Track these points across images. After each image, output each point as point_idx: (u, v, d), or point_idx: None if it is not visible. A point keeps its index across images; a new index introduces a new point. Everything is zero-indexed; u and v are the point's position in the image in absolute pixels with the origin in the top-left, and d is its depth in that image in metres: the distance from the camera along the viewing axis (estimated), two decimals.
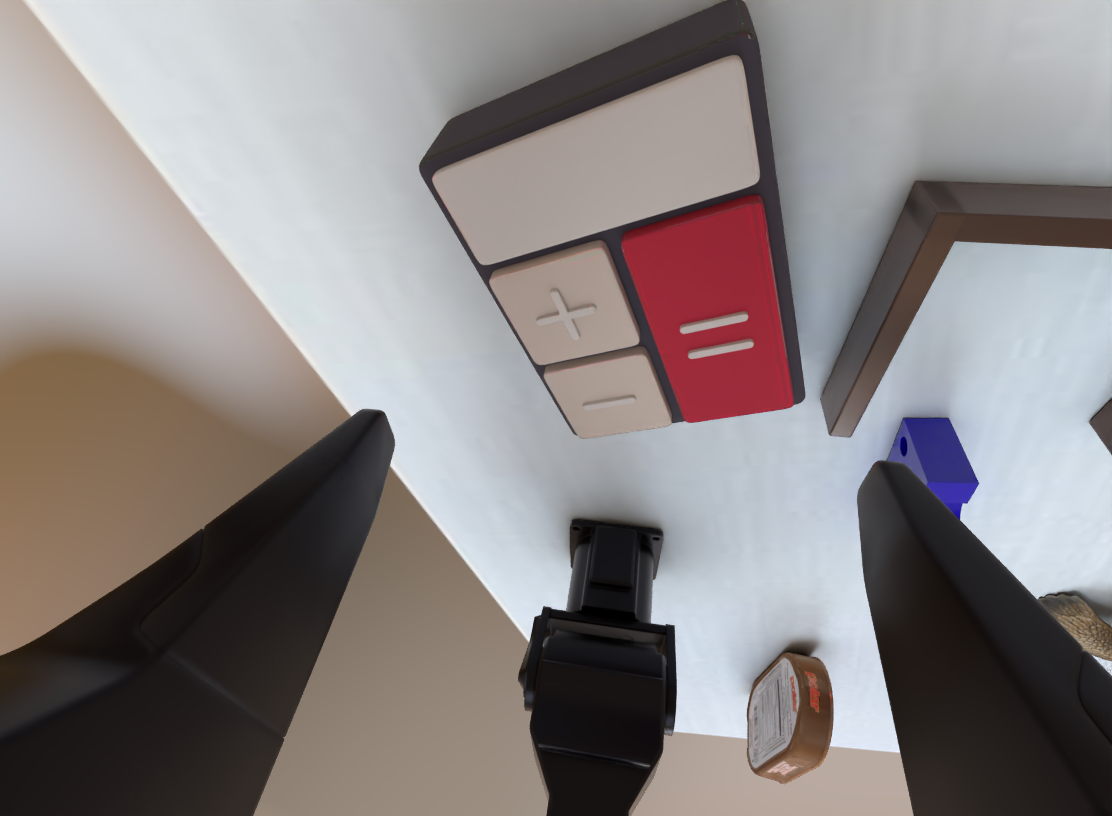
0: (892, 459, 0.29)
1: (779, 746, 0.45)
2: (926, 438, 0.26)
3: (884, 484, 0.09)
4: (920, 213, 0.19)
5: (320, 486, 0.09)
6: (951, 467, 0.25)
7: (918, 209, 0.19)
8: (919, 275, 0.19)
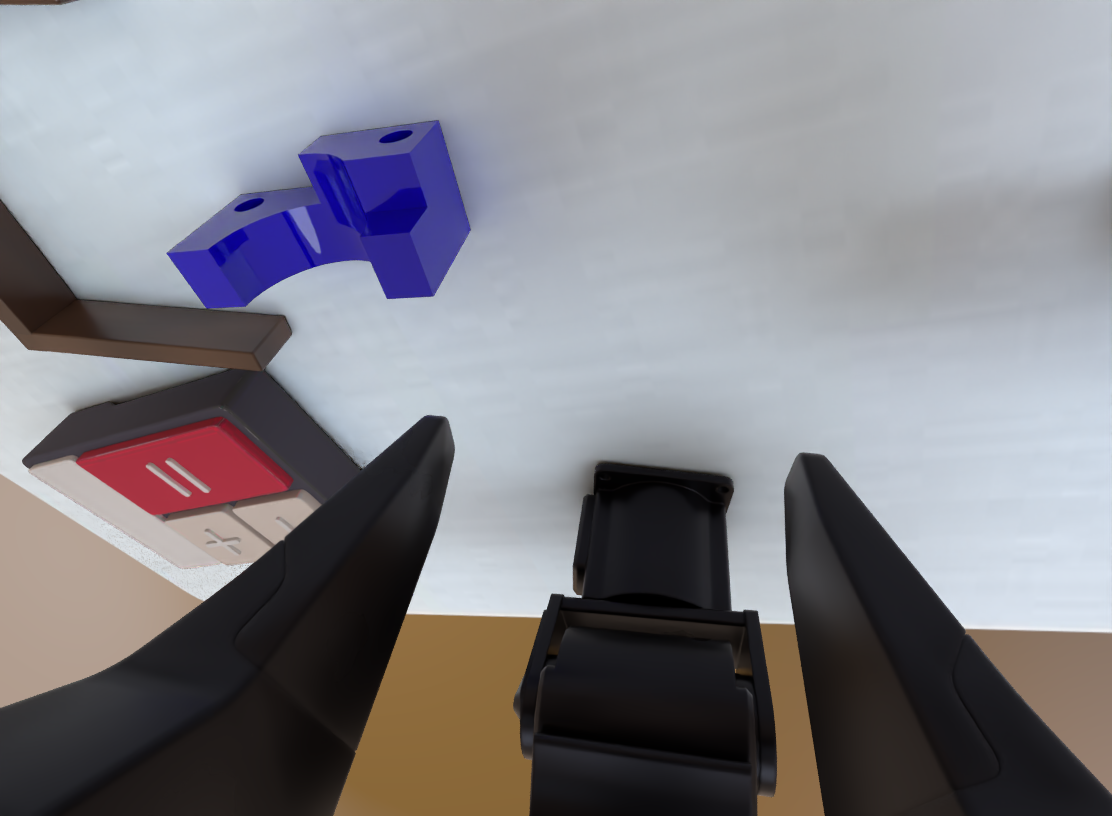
0: None
1: None
2: None
3: (803, 476, 0.09)
4: None
5: (395, 495, 0.09)
6: None
7: None
8: (68, 346, 0.23)
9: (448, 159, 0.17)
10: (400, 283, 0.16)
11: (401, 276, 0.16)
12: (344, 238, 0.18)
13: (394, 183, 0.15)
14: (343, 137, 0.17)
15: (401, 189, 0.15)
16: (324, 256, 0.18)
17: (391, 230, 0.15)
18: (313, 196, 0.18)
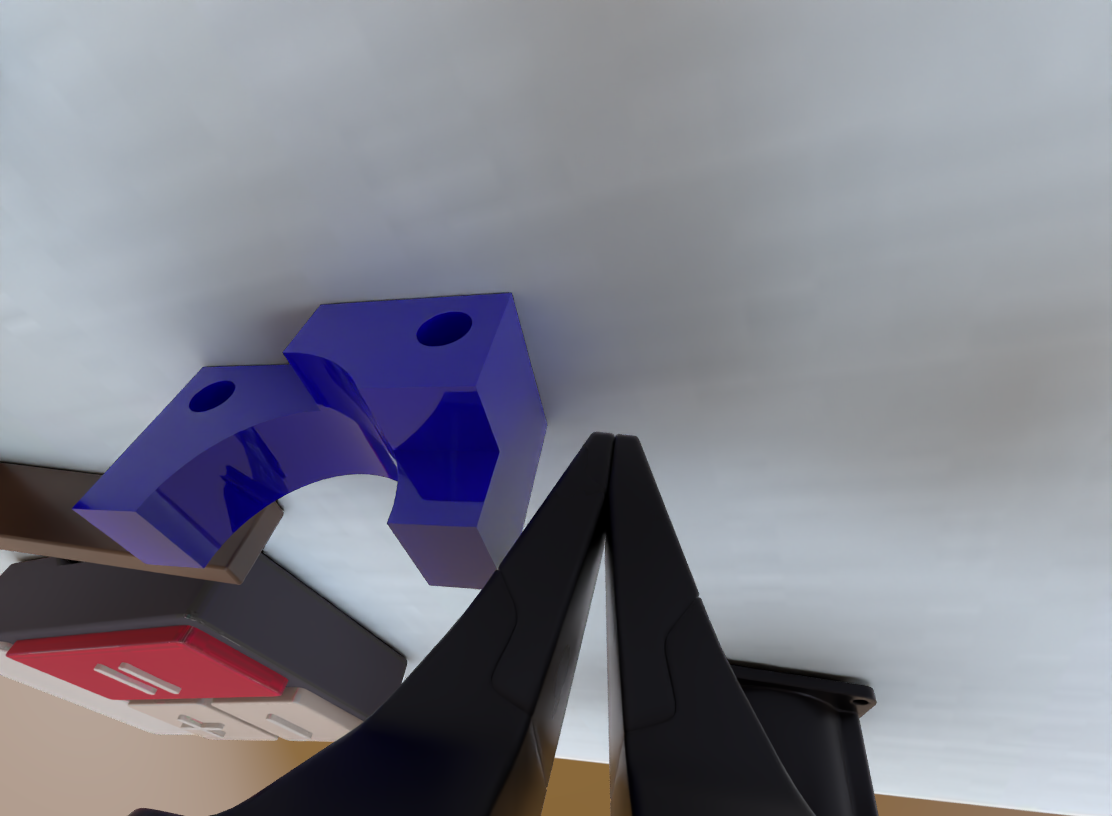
0: None
1: None
2: None
3: (613, 455, 0.10)
4: None
5: (596, 520, 0.08)
6: None
7: None
8: None
9: (523, 344, 0.11)
10: (453, 573, 0.09)
11: (456, 567, 0.09)
12: (357, 451, 0.12)
13: (445, 420, 0.09)
14: (356, 315, 0.10)
15: (456, 428, 0.09)
16: (327, 469, 0.12)
17: (442, 513, 0.09)
18: None
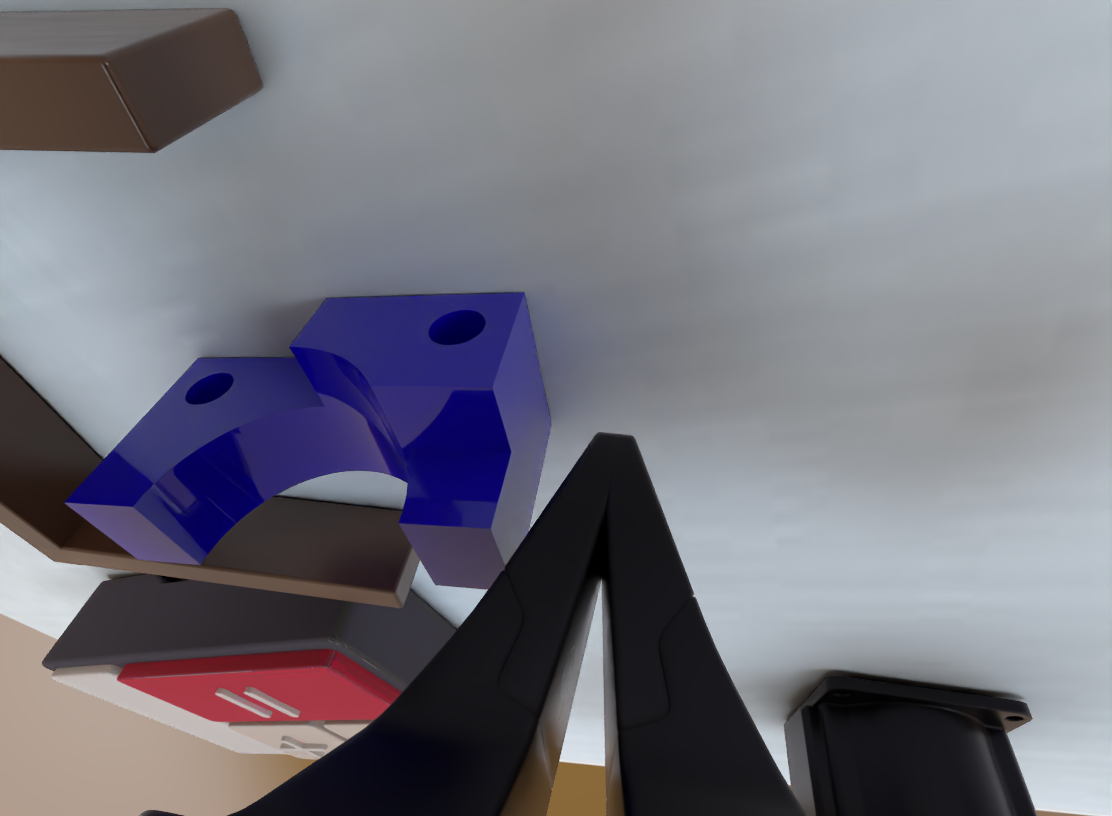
0: None
1: None
2: None
3: None
4: None
5: (602, 521, 0.08)
6: None
7: None
8: (114, 564, 0.16)
9: (533, 344, 0.11)
10: (461, 573, 0.09)
11: (465, 568, 0.09)
12: (360, 448, 0.12)
13: (458, 420, 0.09)
14: (364, 310, 0.10)
15: (469, 428, 0.09)
16: (327, 465, 0.12)
17: (455, 514, 0.08)
18: (312, 384, 0.11)
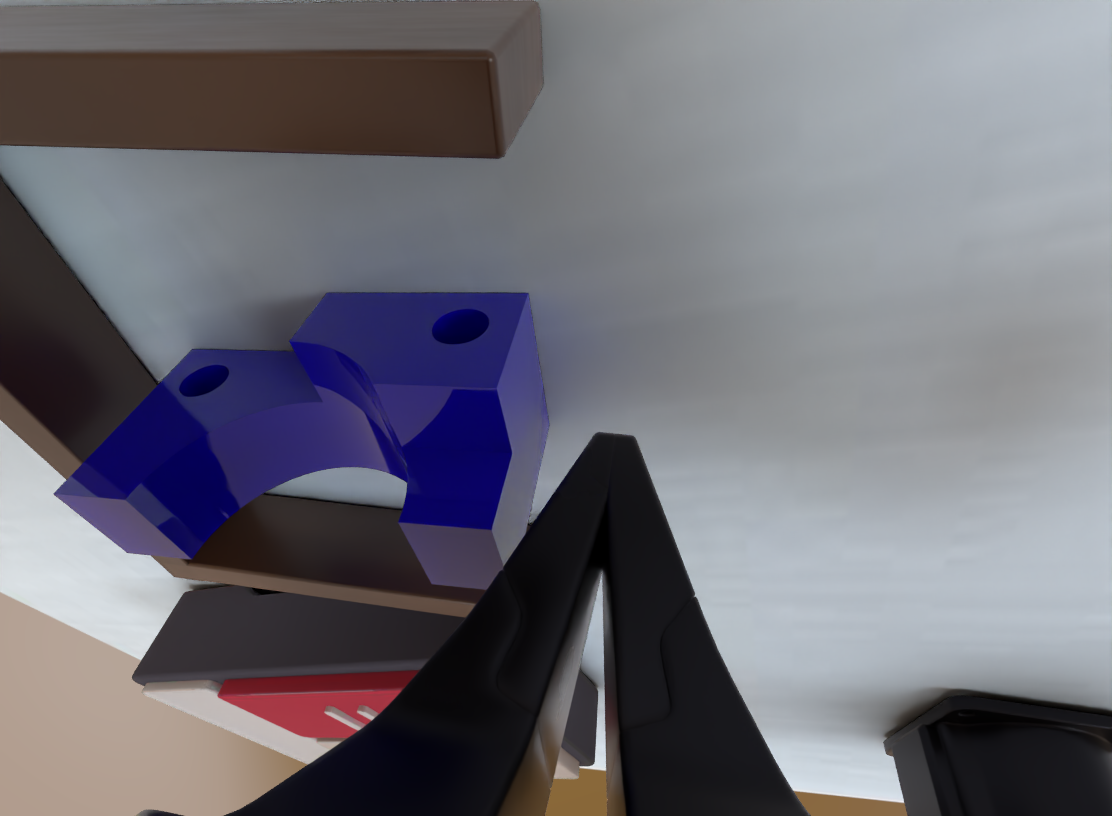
0: None
1: None
2: None
3: None
4: None
5: (600, 520, 0.08)
6: None
7: None
8: (241, 580, 0.15)
9: (534, 344, 0.11)
10: (459, 573, 0.09)
11: (462, 568, 0.09)
12: (356, 444, 0.11)
13: (460, 420, 0.09)
14: (366, 306, 0.10)
15: (471, 429, 0.09)
16: (322, 461, 0.12)
17: (456, 514, 0.08)
18: (309, 379, 0.11)
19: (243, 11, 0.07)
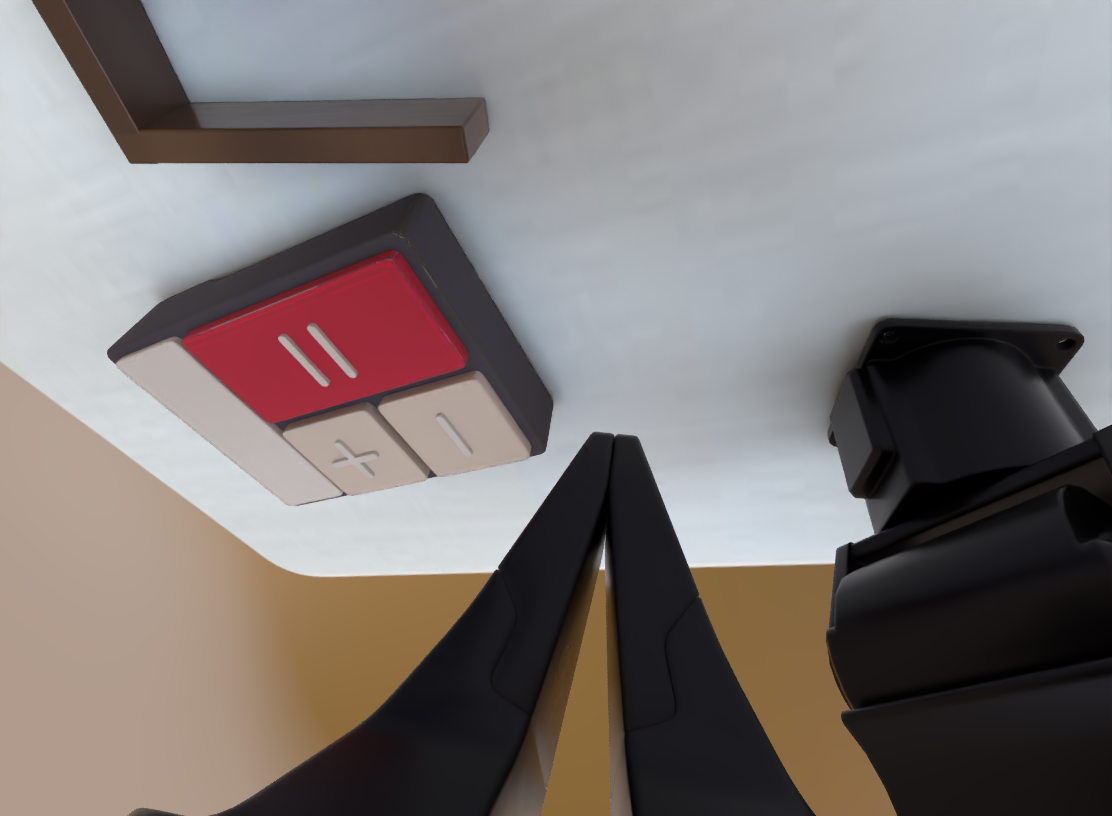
0: None
1: None
2: None
3: None
4: None
5: (596, 520, 0.08)
6: None
7: None
8: (188, 150, 0.16)
9: None
10: None
11: None
12: None
13: None
14: None
15: None
16: None
17: None
18: None
19: None
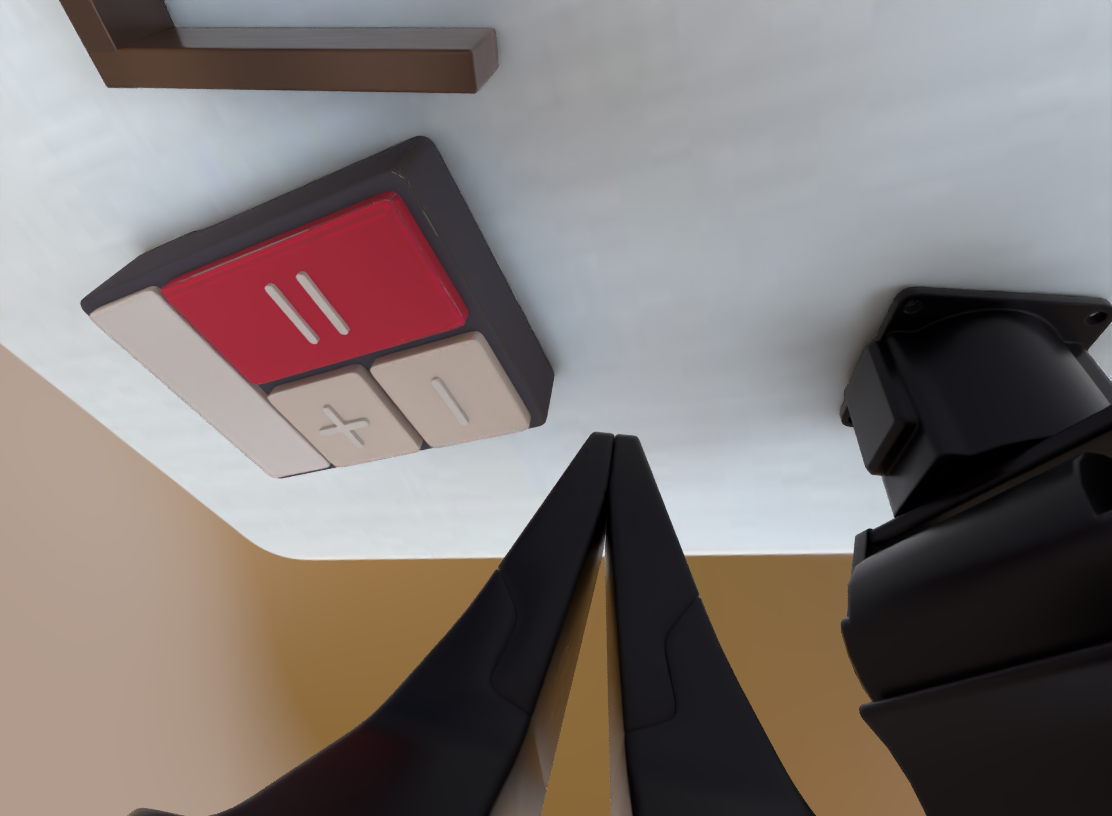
0: None
1: None
2: None
3: None
4: None
5: (596, 520, 0.08)
6: None
7: None
8: (171, 72, 0.15)
9: None
10: None
11: None
12: None
13: None
14: None
15: None
16: None
17: None
18: None
19: None
